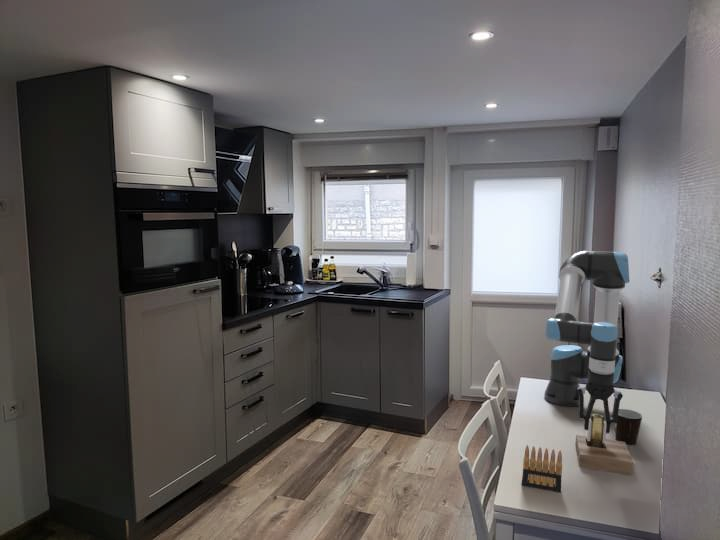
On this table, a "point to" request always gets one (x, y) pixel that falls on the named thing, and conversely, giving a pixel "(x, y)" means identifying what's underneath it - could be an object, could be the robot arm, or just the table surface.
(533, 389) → the table surface
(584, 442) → the block
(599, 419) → the tan cylinder
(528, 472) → the ammunition clip
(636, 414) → the coffee mug
